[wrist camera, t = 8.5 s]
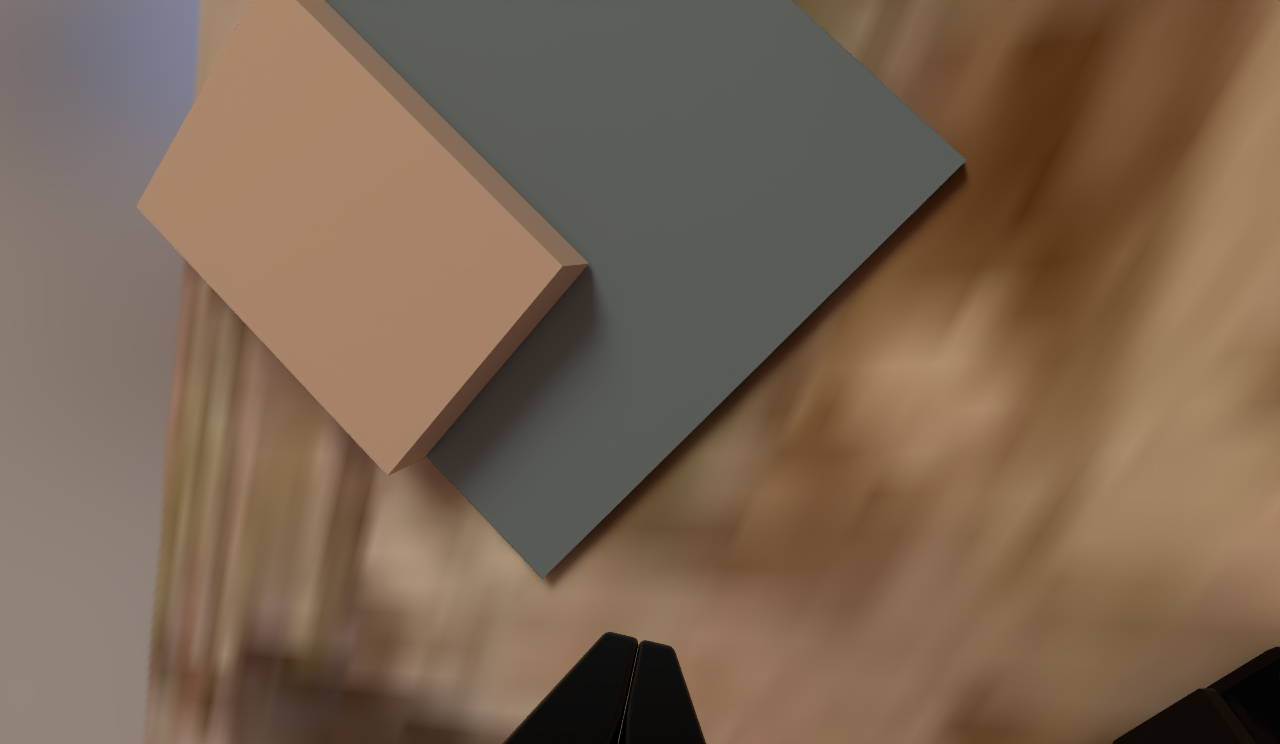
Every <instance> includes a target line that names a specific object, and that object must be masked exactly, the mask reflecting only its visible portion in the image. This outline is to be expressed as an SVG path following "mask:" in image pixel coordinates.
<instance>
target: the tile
mask: <svg viewBox="0 0 1280 744" xmlns="http://www.w3.org/2000/svg"><path fill="white" fill-rule="evenodd" d="M136 207H137V208H138V209H139V210H140V211H141V212H142V213H143V214H144V215H145V217H147V219H148V220H149V221H150V222H151V223H152V224H153V225H154V226H155V227H156V228H157V229H158V230H159V231H160V233H161V234H162V235H163V236H164V237H165V238H166V239H167V240H168V241H169V242H170V243H171V244H172V245H173V247H174V248H176V250H177V251H178V252H179V253H180V254H181V255H182V256H183V257H184V258H185V259H186V260H187V262H188V263H189V264H190V265H191V266H192V267H193V268H194V269H195V270H196V271H197V272H198V273H199V274H200V275H201V277H202V278H203V279H204V280H205V281H206V282H207V283H208V284H209V285H210V286H211V287H212V288H213V289H214V290H215V292H216V293H217V294H218V295H219V296H220V297H221V298H222V299H223V300H224V301H225V302H226V303H227V304H228V305H229V307H230V308H231V309H232V310H233V311H234V312H235V313H236V314H237V315H238V316H239V317H240V318H241V319H242V320H243V322H244V323H245V324H246V325H247V326H248V327H249V328H250V329H251V330H252V331H253V332H254V333H255V334H256V335H257V337H258V338H259V339H260V340H261V341H262V342H263V343H264V344H265V345H266V346H267V347H268V348H269V349H270V350H271V351H272V353H273V354H274V355H275V356H276V357H277V358H278V359H279V360H280V361H281V362H282V363H283V364H284V365H285V366H286V368H287V369H288V370H289V371H290V372H291V373H292V374H293V375H294V376H295V377H296V378H297V379H298V380H299V381H300V383H301V384H302V385H303V386H304V387H305V388H306V389H307V390H308V391H309V392H310V393H311V394H312V395H313V396H314V398H315V399H316V400H317V401H318V402H319V403H320V404H321V405H322V406H323V407H324V408H325V409H326V410H327V411H328V413H329V414H330V415H331V416H332V417H333V418H334V419H335V420H336V421H337V422H338V423H339V424H340V425H341V426H342V428H343V429H344V430H345V431H346V432H347V433H348V434H349V435H350V436H351V437H352V438H353V439H354V440H355V441H356V443H357V444H358V445H359V446H360V447H361V448H362V449H363V450H364V451H365V452H366V453H367V454H368V455H369V456H370V458H371V459H372V460H373V461H374V462H375V463H376V464H377V465H378V466H379V467H380V468H381V469H382V470H383V471H384V473H385V474H386V475H387V476H388V475H390V474H392V473H394V472H396V471H398V470H400V469H402V468H404V467H406V466H408V465H410V464H412V463H415V462H417V461H419V460H421V459H423V458H424V457H425V456H426V455H427V454H428V453H429V451H430V450H431V449H432V448H433V447H434V445H435V444H436V443H437V442H438V441H439V440H440V438H441V437H442V436H443V435H444V434H445V433H446V431H447V430H448V429H449V428H450V427H451V425H452V424H453V423H454V422H455V421H456V420H457V418H458V417H459V416H460V415H461V414H462V413H463V411H464V410H465V409H466V408H467V407H468V405H469V404H470V403H471V402H472V401H473V400H474V398H475V397H476V396H477V395H478V394H479V393H480V391H481V390H482V389H483V388H484V387H485V385H486V384H487V383H488V382H489V381H490V380H491V378H492V377H493V376H494V375H495V374H496V372H497V371H498V370H499V369H500V368H501V367H502V365H503V364H504V363H505V362H506V361H507V360H508V358H509V357H510V356H511V355H512V354H513V352H514V351H515V350H516V349H517V348H518V347H519V345H520V344H521V343H522V342H523V341H524V340H525V338H526V337H527V336H528V335H529V334H530V332H531V331H532V330H533V329H534V328H535V327H536V325H537V324H538V323H539V322H540V321H541V320H542V318H543V317H544V316H545V315H546V314H547V312H548V311H549V310H550V309H551V308H552V307H553V305H554V304H555V303H556V302H557V301H558V300H559V298H560V297H561V296H562V295H563V294H564V292H565V291H566V290H567V289H568V288H569V287H570V285H571V284H572V283H573V282H574V281H575V280H576V278H577V277H578V276H579V275H580V274H581V272H582V271H583V270H584V269H585V268H586V267H587V265H588V264H589V263H588V262H587V261H586V260H585V259H584V258H583V257H582V256H581V255H580V254H579V253H578V252H577V251H576V250H575V249H574V248H573V247H572V246H571V245H570V244H569V243H568V242H567V241H566V240H565V239H564V238H563V237H562V236H561V235H560V234H559V233H558V232H557V231H556V230H555V229H554V228H553V227H552V226H551V225H550V224H549V223H548V222H547V221H546V220H545V219H544V218H543V217H542V216H541V215H540V214H539V213H538V212H537V211H536V210H535V209H534V208H533V207H532V206H531V205H530V204H529V203H528V202H527V201H526V200H525V199H524V198H523V197H522V196H521V195H520V194H519V193H518V192H517V191H516V190H515V189H514V188H513V187H512V186H511V185H510V184H509V183H508V182H507V181H506V180H505V179H504V178H503V177H502V176H501V175H500V174H499V173H498V172H497V171H496V170H495V169H494V168H493V167H492V166H491V165H490V164H489V163H488V162H487V161H486V160H485V159H484V158H483V157H482V156H480V155H479V154H478V153H477V152H476V151H475V150H474V149H473V148H472V147H471V146H470V145H469V144H468V143H467V142H466V141H465V140H464V139H463V138H462V137H461V136H460V135H459V134H458V133H457V132H456V131H455V130H454V129H453V128H452V127H451V126H450V125H449V124H448V123H447V122H446V121H445V120H444V119H443V118H442V117H441V116H440V115H439V114H438V113H437V112H436V111H435V110H434V109H433V108H432V107H431V106H430V105H429V104H428V103H427V102H426V101H425V100H424V99H423V98H422V97H421V96H420V95H419V94H418V93H417V92H416V91H415V90H414V89H413V88H412V87H411V86H410V85H409V84H408V83H407V82H406V81H405V80H404V79H403V78H402V77H401V76H400V75H399V74H398V73H397V72H396V71H395V70H394V69H393V68H392V67H391V66H390V65H389V64H388V63H387V62H386V61H385V60H384V59H383V58H382V57H381V56H380V55H379V54H378V53H377V52H376V51H375V50H374V49H373V48H372V47H371V46H370V45H369V44H368V43H367V42H366V41H365V40H364V39H363V38H362V37H361V36H360V35H359V34H358V33H357V32H356V31H355V30H354V29H353V28H352V27H351V26H350V25H349V24H348V23H347V22H346V21H345V20H344V19H343V18H342V17H341V16H340V15H339V14H338V13H337V12H336V11H335V10H334V9H333V8H332V7H331V6H330V5H329V4H328V3H327V2H326V1H325V0H252V1H251V2H250V4H249V6H248V8H247V10H246V11H245V13H244V15H243V17H242V19H241V20H240V22H239V24H238V26H237V27H236V29H235V31H234V33H233V35H232V36H231V38H230V40H229V42H228V44H227V45H226V47H225V49H224V51H223V52H222V54H221V56H220V58H219V60H218V61H217V63H216V65H215V67H214V69H213V70H212V72H211V74H210V76H209V77H208V79H207V81H206V83H205V85H204V86H203V88H202V90H201V92H200V94H199V95H198V97H197V99H196V101H195V102H194V104H193V106H192V108H191V110H190V111H189V113H188V115H187V117H186V119H185V120H184V122H183V124H182V126H181V128H180V129H179V131H178V133H177V135H176V136H175V138H174V140H173V142H172V144H171V145H170V147H169V149H168V151H167V153H166V154H165V156H164V158H163V160H162V162H161V163H160V165H159V167H158V169H157V171H156V172H155V174H154V176H153V178H152V179H151V181H150V183H149V185H148V186H147V188H146V190H145V192H144V194H143V195H142V197H141V199H140V201H139V203H138V204H137V206H136Z"/></svg>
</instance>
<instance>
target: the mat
mask: <svg viewBox="0 0 1280 744" xmlns="http://www.w3.org/2000/svg"><path fill="white" fill-rule="evenodd" d="M325 1H326V2H327V3H328V4H329V5H330V6H331V7H332V8H333V9H334V10H335V11H336V12H337V13H338V14H339V15H340V16H341V17H342V18H343V19H344V20H345V21H346V22H347V23H348V24H349V25H350V26H351V27H352V28H353V29H354V30H355V31H356V32H357V33H358V34H359V35H360V36H361V37H362V38H363V39H364V40H365V41H366V42H367V43H368V44H369V45H370V46H371V47H372V48H373V49H374V50H375V51H376V52H377V53H378V54H379V55H380V56H381V57H382V58H383V59H384V60H385V61H386V62H387V63H388V64H389V65H390V66H391V67H392V68H393V69H394V70H395V71H396V72H397V73H398V74H399V75H400V76H401V77H402V78H403V79H404V80H405V81H406V82H407V83H408V84H409V85H410V86H411V87H412V88H413V89H414V90H415V91H416V92H417V93H418V94H419V95H420V96H421V97H422V98H423V99H424V100H425V101H426V102H427V103H428V104H429V105H430V106H431V107H432V108H433V109H434V110H435V111H436V112H437V113H438V114H439V115H440V116H441V117H442V118H443V119H444V120H445V121H446V122H447V123H448V124H449V125H450V126H451V127H452V128H453V129H454V130H455V131H456V132H457V133H458V134H459V135H460V136H461V137H462V138H463V139H464V140H465V141H466V142H467V143H468V144H469V145H470V146H471V147H472V148H473V149H474V150H475V151H476V152H477V153H478V154H479V155H480V156H482V157H483V158H484V159H485V160H486V161H487V162H488V163H489V164H490V165H491V166H492V167H493V168H494V169H495V170H496V171H497V172H498V173H499V174H500V175H501V176H502V177H503V178H504V179H505V180H506V181H507V182H508V183H509V184H510V185H511V186H512V187H513V188H514V189H515V190H516V191H517V192H518V193H519V194H520V195H521V196H522V197H523V198H524V199H525V200H526V201H527V202H528V203H529V204H530V205H531V206H532V207H533V208H534V209H535V210H536V211H537V212H538V213H539V214H540V215H541V216H542V217H543V218H544V219H545V220H546V221H547V222H548V223H549V224H550V225H551V226H552V227H553V228H554V229H555V230H556V231H557V232H558V233H559V234H560V235H561V236H562V237H563V238H564V239H565V240H566V241H567V242H568V243H569V244H570V245H571V246H572V247H573V248H574V249H575V250H576V251H577V252H578V253H579V254H580V255H581V256H582V257H583V258H584V259H585V260H586V261H587V262H588V263H589V264H588V265H587V267H586V268H585V269H584V270H583V271H582V272H581V274H580V275H579V276H578V277H577V278H576V280H575V281H574V282H573V283H572V284H571V285H570V287H569V288H568V289H567V290H566V291H565V292H564V294H563V295H562V296H561V297H560V298H559V300H558V301H557V302H556V303H555V304H554V305H553V307H552V308H551V309H550V310H549V311H548V312H547V314H546V315H545V316H544V317H543V318H542V320H541V321H540V322H539V323H538V324H537V325H536V327H535V328H534V329H533V330H532V331H531V332H530V334H529V335H528V336H527V337H526V338H525V340H524V341H523V342H522V343H521V344H520V345H519V347H518V348H517V349H516V350H515V351H514V352H513V354H512V355H511V356H510V357H509V358H508V360H507V361H506V362H505V363H504V364H503V365H502V367H501V368H500V369H499V370H498V371H497V372H496V374H495V375H494V376H493V377H492V378H491V380H490V381H489V382H488V383H487V384H486V385H485V387H484V388H483V389H482V390H481V391H480V393H479V394H478V395H477V396H476V397H475V398H474V400H473V401H472V402H471V403H470V404H469V405H468V407H467V408H466V409H465V410H464V411H463V413H462V414H461V415H460V416H459V417H458V418H457V420H456V421H455V422H454V423H453V424H452V425H451V427H450V428H449V429H448V430H447V431H446V433H445V434H444V435H443V436H442V437H441V438H440V440H439V441H438V442H437V443H436V444H435V445H434V447H433V448H432V449H431V450H430V451H429V453H428V454H427V455H426V456H427V457H428V458H429V459H430V460H431V461H432V463H433V464H434V465H435V466H436V467H437V468H438V469H439V470H440V471H441V472H442V473H443V474H444V475H445V476H446V477H447V478H448V479H449V481H450V482H451V483H452V484H453V485H454V486H455V487H456V488H457V489H458V490H459V491H460V492H461V493H462V494H463V495H464V496H465V497H466V499H467V500H468V501H469V502H470V503H471V504H472V505H473V506H474V507H475V508H476V509H477V510H478V511H479V512H480V513H481V514H482V515H483V517H484V518H485V519H486V520H487V521H488V522H489V523H490V524H491V525H492V526H493V527H494V528H495V529H496V530H497V531H498V532H499V534H500V535H501V536H502V537H503V538H504V539H505V540H506V541H507V542H508V543H509V544H510V545H511V546H512V547H513V548H514V549H515V550H516V552H517V553H518V554H519V555H520V556H521V557H522V558H523V559H524V560H525V561H526V562H527V563H528V564H529V565H530V566H531V567H532V568H533V570H534V571H535V572H536V573H537V574H538V575H539V576H540V577H541V578H542V579H543V578H544V577H545V576H546V575H547V574H548V573H549V572H550V571H551V570H552V569H553V568H554V567H555V566H556V565H557V564H558V563H559V562H560V561H561V560H562V559H563V558H564V557H565V556H566V555H567V554H568V553H569V552H570V551H571V550H572V549H573V548H574V547H575V546H576V545H577V544H578V543H579V542H580V541H581V540H582V539H583V538H584V537H585V536H586V535H587V534H588V533H589V532H590V531H591V530H592V529H593V528H594V527H595V526H596V525H598V524H599V523H600V522H601V521H602V520H603V519H604V518H605V517H606V516H607V515H608V514H609V513H610V512H611V511H612V510H613V509H614V508H615V507H616V506H617V505H618V504H619V503H620V502H621V501H622V500H623V499H624V498H625V497H626V496H627V495H628V494H629V493H630V492H631V491H632V490H633V489H634V488H635V487H636V486H637V485H638V484H639V483H640V482H641V481H642V480H643V479H644V478H645V477H646V476H647V475H648V474H649V473H650V472H651V471H652V470H653V469H654V468H655V467H656V466H657V465H658V464H659V463H660V462H661V461H662V460H663V459H664V458H665V457H666V456H667V455H668V454H669V453H670V452H671V451H672V450H673V449H674V448H675V447H677V446H678V445H679V444H680V443H681V442H682V441H683V440H684V439H685V438H686V437H687V436H688V435H689V434H690V433H691V432H692V431H693V430H694V429H695V428H696V427H697V426H698V425H699V424H700V423H701V422H702V421H703V420H704V419H705V418H706V417H707V416H708V415H709V414H710V413H711V412H712V411H713V410H714V409H715V408H716V407H717V406H718V405H719V404H720V403H721V402H722V401H723V400H724V399H725V398H726V397H727V396H728V395H729V394H730V393H731V392H732V391H733V390H734V389H735V388H736V387H737V386H738V385H739V384H740V383H741V382H742V381H743V380H744V379H745V378H746V377H747V376H748V375H749V374H750V373H751V372H752V371H753V370H754V369H756V368H757V367H758V366H759V365H760V364H761V363H762V362H763V361H764V360H765V359H766V358H767V357H768V356H769V355H770V354H771V353H772V352H773V351H774V350H775V349H776V348H777V347H778V346H779V345H780V344H781V343H782V342H783V341H784V340H785V339H786V338H787V337H788V336H789V335H790V334H791V333H792V332H793V331H794V330H795V329H796V328H797V327H798V326H799V325H800V324H801V323H802V322H803V321H804V320H805V319H806V318H807V317H808V316H809V315H810V314H811V313H812V312H813V311H814V310H815V309H816V308H817V307H818V306H819V305H820V304H821V303H822V302H823V301H824V300H825V299H826V298H827V297H828V296H829V295H830V294H831V293H832V292H834V291H835V290H836V289H837V288H838V287H839V286H840V285H841V284H842V283H843V282H844V281H845V280H846V279H847V278H848V277H849V276H850V275H851V274H852V273H853V272H854V271H855V270H856V269H857V268H858V267H859V266H860V265H861V264H862V263H863V262H864V261H865V260H866V259H867V258H868V257H869V256H870V255H871V254H872V253H873V252H874V251H875V250H876V249H877V248H878V247H879V246H880V245H881V244H882V243H883V242H884V241H885V240H886V239H887V238H888V237H889V236H890V235H891V234H892V233H893V232H894V231H895V230H896V229H897V228H898V227H899V226H900V225H901V224H902V223H903V222H904V221H905V220H906V219H907V218H908V217H909V216H910V215H911V214H913V213H914V212H915V211H916V210H917V209H918V208H919V207H920V206H921V205H922V204H923V203H924V202H925V201H926V200H927V199H928V198H929V197H930V196H931V195H932V194H933V193H934V192H935V191H936V190H937V189H938V188H939V187H940V186H941V185H942V184H943V183H944V182H945V181H946V180H947V179H948V178H949V177H950V176H951V175H952V174H953V173H954V172H955V171H956V170H957V169H958V168H959V167H960V166H961V165H962V164H963V163H964V162H965V161H966V159H965V158H964V157H962V156H961V155H960V154H959V153H958V152H957V151H956V150H955V149H954V148H953V147H952V146H950V145H949V144H948V143H947V142H946V141H945V140H944V139H943V138H942V137H941V136H940V135H938V134H937V133H936V132H935V131H934V130H933V129H932V128H931V127H930V126H929V125H928V124H926V123H925V122H924V121H923V120H922V119H921V118H920V117H919V116H918V115H917V114H916V113H914V112H913V111H912V110H911V109H910V108H909V107H908V106H907V105H906V104H905V103H903V102H902V101H901V100H900V99H899V98H898V97H897V96H896V95H895V94H894V93H893V92H891V91H890V90H889V89H888V88H887V87H886V86H885V85H884V84H883V83H882V82H881V81H879V80H878V79H877V78H876V77H875V76H874V75H873V74H872V73H871V72H870V71H869V70H867V69H866V68H865V67H864V66H863V65H862V64H861V63H860V62H859V61H858V60H857V59H855V58H854V57H853V56H852V55H851V54H850V53H849V52H848V51H847V50H846V49H844V48H843V47H842V46H841V45H840V44H839V43H838V42H837V41H836V40H835V39H834V38H832V37H831V36H830V35H829V34H828V33H827V32H826V31H825V30H824V29H823V28H822V27H820V26H819V25H818V24H817V23H816V22H815V21H814V20H813V19H812V18H811V17H810V16H808V15H807V14H806V13H805V12H804V11H803V10H802V9H801V8H800V7H799V6H797V5H796V4H795V3H794V2H793V1H792V0H325Z"/></svg>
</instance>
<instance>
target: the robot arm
mask: <svg viewBox="0 0 1280 744" xmlns="http://www.w3.org/2000/svg"><path fill="white" fill-rule="evenodd" d="M637 649H638V652H637ZM636 654H637V657H636ZM635 658H636V661H635ZM634 663H635V666H634ZM633 668H634V671H633ZM632 673H633V676H632ZM631 678H632V681H631ZM630 682H631V685H630ZM629 687H630V690H629ZM628 692H629V695H628ZM627 697H628V700H627ZM626 702H627V705H626ZM625 706H626V709H625ZM624 711H625V714H624ZM623 716H624V719H623ZM622 721H623V724H622ZM621 726H622V729H621ZM620 730H621V733H620ZM619 735H620V738H619ZM618 740H619V743H618ZM503 744H706V742H705V739H704V736H703V733H702V730H701V727H700V724H699V721H698V718H697V715H696V712H695V709H694V706H693V703H692V700H691V697H690V694H689V691H688V688H687V685H686V682H685V679H684V676H683V673H682V670H681V667H680V664H679V661H678V659H677V656H676V653H675V651H674V649H673V648H672V647H671V646H668V645H664V644H660V643H655V642H651V641H647V640H644V641H641V642H640V644H639V647H638V641H637V639H636V638H634V637H630V636H626V635H621V634H617V633H613V632H607V633H605V634H604V635H602V636H601V637H600V639H599V640H598V641H597V642H596V643H595V644H594V645H593V646H592V647H591V648H590V649H589V650H588V652H587V653H586V654H585V655H584V656H583V657H582V658H581V659H580V660H579V661H578V662H577V663H576V665H575V666H574V667H573V668H572V669H571V670H570V671H569V672H568V673H567V674H566V675H565V676H564V678H563V679H562V680H561V681H560V682H559V683H558V684H557V685H556V686H555V687H554V688H553V689H552V691H551V692H550V693H549V694H548V695H547V696H546V697H545V698H544V699H543V700H542V701H541V702H540V703H539V705H538V706H537V707H536V708H535V709H534V710H533V711H532V712H531V713H530V714H529V715H528V716H527V718H526V719H525V720H524V721H523V722H522V723H521V724H520V725H519V726H518V727H517V728H516V729H515V731H514V732H513V733H512V734H511V735H510V736H509V737H508V738H507V739H506V740H505V741H504V742H503ZM1113 744H1280V647H1275V648H1272V649H1270V650H1267V651H1265V652H1264V653H1262V654H1261V655H1259V656H1257V657H1256V658H1254V659H1252V660H1251V661H1249V662H1248V663H1246V664H1244V665H1243V666H1241V667H1239V668H1238V669H1236V670H1234V671H1233V672H1231V673H1230V674H1228V675H1226V676H1225V677H1223V678H1221V679H1220V680H1218V681H1216V682H1215V683H1213V684H1212V685H1210V686H1208V687H1207V688H1205V689H1197V690H1196V691H1194V692H1192V693H1191V694H1189V695H1188V696H1186V697H1184V698H1183V699H1181V700H1179V701H1178V702H1176V703H1175V704H1173V705H1171V706H1170V707H1168V708H1166V709H1165V710H1163V711H1162V712H1160V713H1158V714H1157V715H1155V716H1153V717H1152V718H1150V719H1149V720H1147V721H1145V722H1144V723H1142V724H1140V725H1139V726H1137V727H1135V728H1134V729H1132V730H1131V731H1129V732H1127V733H1126V734H1124V735H1122V736H1121V737H1119V738H1118V739H1116V740H1115V741H1114V742H1113Z"/></svg>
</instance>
